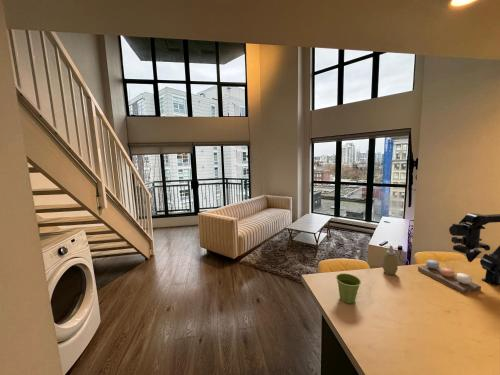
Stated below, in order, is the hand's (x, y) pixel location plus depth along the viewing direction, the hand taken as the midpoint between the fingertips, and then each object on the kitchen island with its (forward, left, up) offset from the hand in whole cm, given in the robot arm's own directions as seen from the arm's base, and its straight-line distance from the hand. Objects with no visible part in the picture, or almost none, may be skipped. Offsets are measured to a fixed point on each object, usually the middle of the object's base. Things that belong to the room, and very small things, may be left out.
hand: (469, 261), depth 122 cm
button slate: (+10, -13, -11) cm, 19 cm away
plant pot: (+78, -1, -12) cm, 79 cm away
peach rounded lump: (+10, -4, -12) cm, 16 cm away
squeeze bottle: (+36, -18, -12) cm, 42 cm away
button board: (+10, -4, -12) cm, 16 cm away
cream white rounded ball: (+10, +4, -11) cm, 15 cm away
